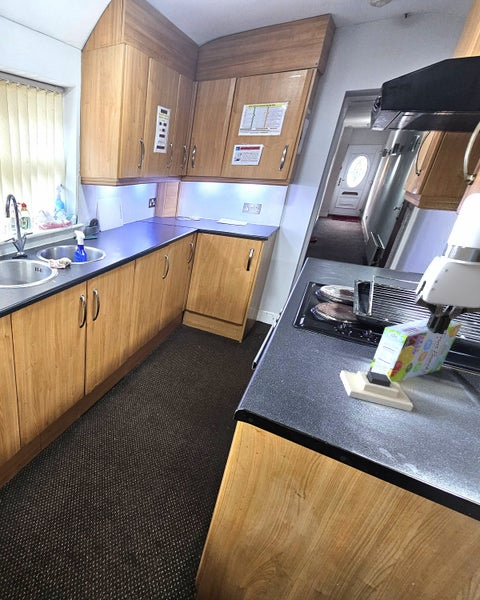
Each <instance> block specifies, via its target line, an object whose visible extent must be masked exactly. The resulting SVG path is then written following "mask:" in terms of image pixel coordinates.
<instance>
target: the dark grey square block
mask: <svg viewBox="0 0 480 600" xmlns="http://www.w3.org/2000/svg"><path fill="white" fill-rule="evenodd" d="M366 373H367V376H366V377H367V379H368V381H369V383H372V384H376V385H380V386H385V387H389V386H390V384H391V382H390V380H389V379H388V377H387V375H385V374H380V373H375V372H371V371H369V370H368V371H367V372H366Z"/></svg>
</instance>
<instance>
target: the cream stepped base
mask: <svg viewBox="0 0 480 600" xmlns="http://www.w3.org/2000/svg"><path fill="white" fill-rule="evenodd" d="M367 373H368V372H366V371H360V370H358V371H357V372H351V371H347V370H343V369H342V370H341V372H340V374H339V377H340V379H341V381H342V384H343V386H344V388H345V391H346V393H347V395H348V397H351V398H354V399H358V400H362V401H367V402H371V403H375V404H378V405H383V406H387V407H391V408H395V409H398V410H403V411H406V412H412V410H413V408H414V404H413V403H412V401H411V400H410V398H409V396H408V395H407V394H406V392H405V391H404V390H403V388H402V386H401V385H400V383H399V382H392V381H391V379H390V378H389V377H388V379H389V380H390V382H391V384H390V386H389V387H385V386H380V385H376V384H372V383H369V381H368V379H367V377H366V376H367Z"/></svg>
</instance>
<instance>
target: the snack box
mask: <svg viewBox="0 0 480 600" xmlns="http://www.w3.org/2000/svg"><path fill="white" fill-rule="evenodd" d="M429 318H430V317H428V318H424V319H419V320H414V321H410V322H406V323H405V322H404V323H401V324H400V323H399V324H396V325H391V326H386V327H384V330H383V333H382V335H381V338H380V341H379V343H378V346H377V348H376V351H375V354H374V356H373V359H372V362H371V364H370V367H369V369H368V371H371V372H375V373H380V374H385V375H387V377H389V378H390V379H391V381H392V382H396V383H398V382H400V381H404V380H408V379H411V378H415V377H419V376H423V375H428V374H430V373H433V372H439V371H440V370H441V368H442V366H443V364H444V362H445V360H446V358H447V355H448V353H449V352H450V349H451V348H452V345H453V344H454V341H455V339H456V337H457V335H458V333H459V331H460V329H461V327H462V325H463V324H462V323H461V322H459V321H455V320H454V319H452V320H451V322H450V325H449V327H448V329H447V330H445V331H444V333H443V334H438V333H432V332H431V331H430V330H429V329H428V327H427V322H428V320H429Z"/></svg>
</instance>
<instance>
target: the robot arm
mask: <svg viewBox="0 0 480 600" xmlns="http://www.w3.org/2000/svg"><path fill="white" fill-rule="evenodd" d="M415 295H416V297H415V298H414V300H413V303H414V304H416V305H417V306H420V307H423V308H426V309H427V310H428V312H430V316H429V317H428V318H429V320H428V322H427V327H428V329H429V330H430V331H431V332H432V333H438V334H443V333H444V331H445V330H447V329H448V327H449V325H450V322H451V320H455V319H457V318H458V317H459V316H461V315H463V314H466V313H467V314H469V313H471V314H472V313H480V192H475V193H472V194H470V195H468V196H467V197H466V199H464V201H463V204H462V206H461V209H460V210H459V214H458V216H457V218H456V221H455V222H454V225H453V228H452V231H451V233H450V235H449V237H448V240H447V242H446V245H445V247H444V249H443V252H442V254H441V256H435V257H434V259H433V260H432V261H431V262H430V264H429V265H428V268H427V269H426V270H425V272H424V274H423V275H422V277H421V279H420V281H419V284H418V285H417V288H416V290H415ZM445 306H446V307H445Z"/></svg>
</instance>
